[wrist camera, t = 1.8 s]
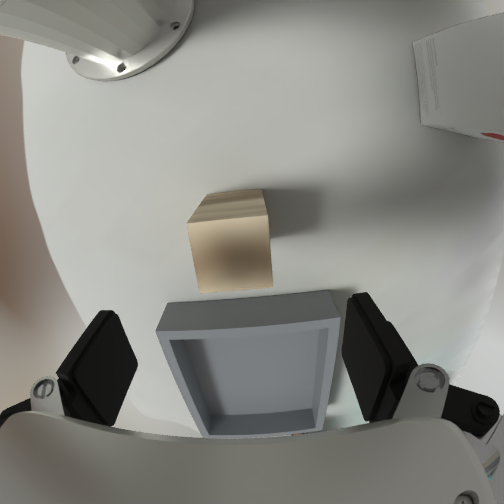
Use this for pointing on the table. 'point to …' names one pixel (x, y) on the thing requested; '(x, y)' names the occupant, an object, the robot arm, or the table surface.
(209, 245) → the birch block
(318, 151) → the table surface
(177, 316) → the tray
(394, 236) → the table surface
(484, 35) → the supplement box
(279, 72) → the table surface
